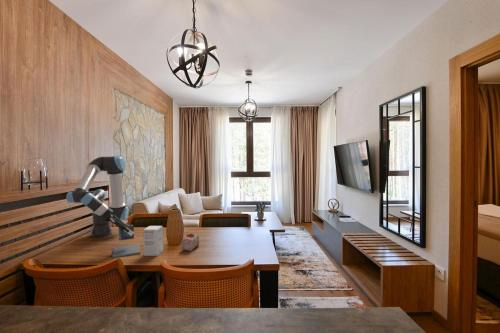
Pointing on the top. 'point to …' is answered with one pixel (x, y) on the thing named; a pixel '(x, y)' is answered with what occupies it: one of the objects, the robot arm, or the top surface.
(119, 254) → the slate board
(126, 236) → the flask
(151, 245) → the supplement box
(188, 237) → the food item
